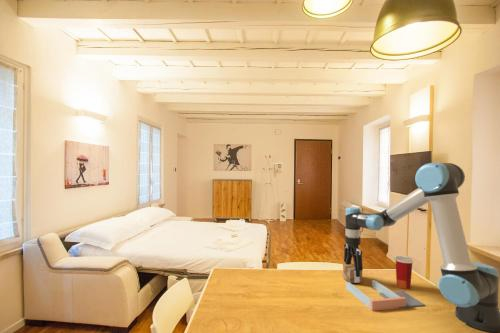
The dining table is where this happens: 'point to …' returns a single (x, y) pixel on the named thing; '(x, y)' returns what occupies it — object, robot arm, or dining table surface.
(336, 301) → the dining table surface
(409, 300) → the coaster
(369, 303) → the channel
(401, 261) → the coffee cup
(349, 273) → the block
